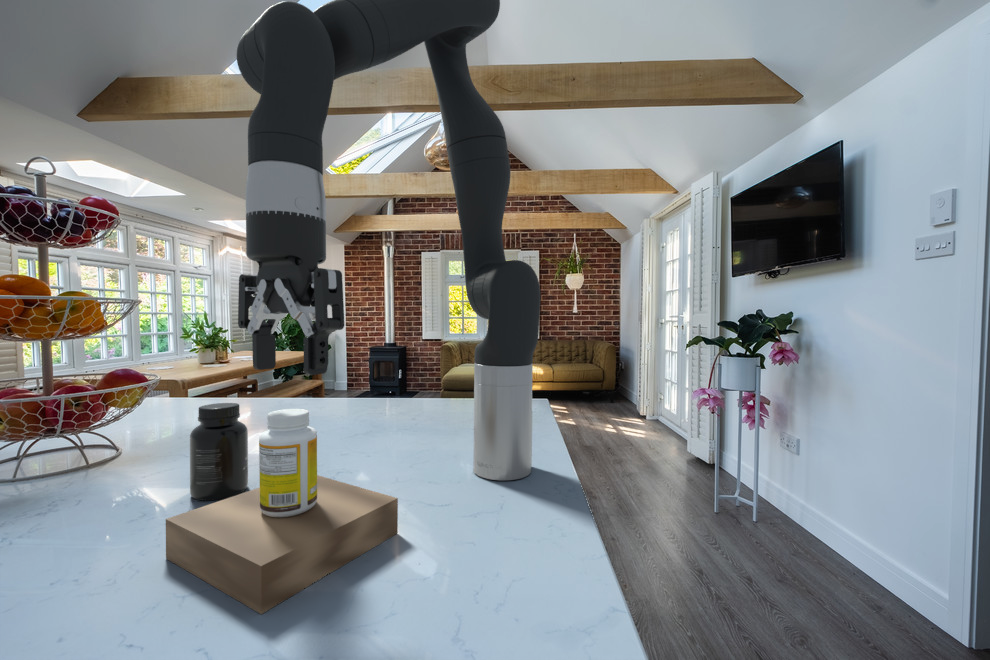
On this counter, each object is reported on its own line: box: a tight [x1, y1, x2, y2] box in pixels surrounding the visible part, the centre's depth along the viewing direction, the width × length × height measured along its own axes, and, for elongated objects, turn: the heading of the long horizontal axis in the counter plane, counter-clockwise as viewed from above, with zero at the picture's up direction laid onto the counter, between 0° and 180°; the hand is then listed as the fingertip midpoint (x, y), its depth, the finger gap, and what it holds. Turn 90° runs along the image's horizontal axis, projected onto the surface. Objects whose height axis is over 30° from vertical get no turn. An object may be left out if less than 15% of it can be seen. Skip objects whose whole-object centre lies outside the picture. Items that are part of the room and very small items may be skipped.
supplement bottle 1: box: [189, 402, 249, 501], centre depth 61 cm, size 7×7×12 cm
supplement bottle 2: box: [258, 408, 318, 517], centre depth 47 cm, size 6×6×10 cm
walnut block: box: [165, 474, 399, 615], centre depth 47 cm, size 16×16×4 cm
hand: (288, 371), depth 46 cm, fingers open, 8 cm apart
